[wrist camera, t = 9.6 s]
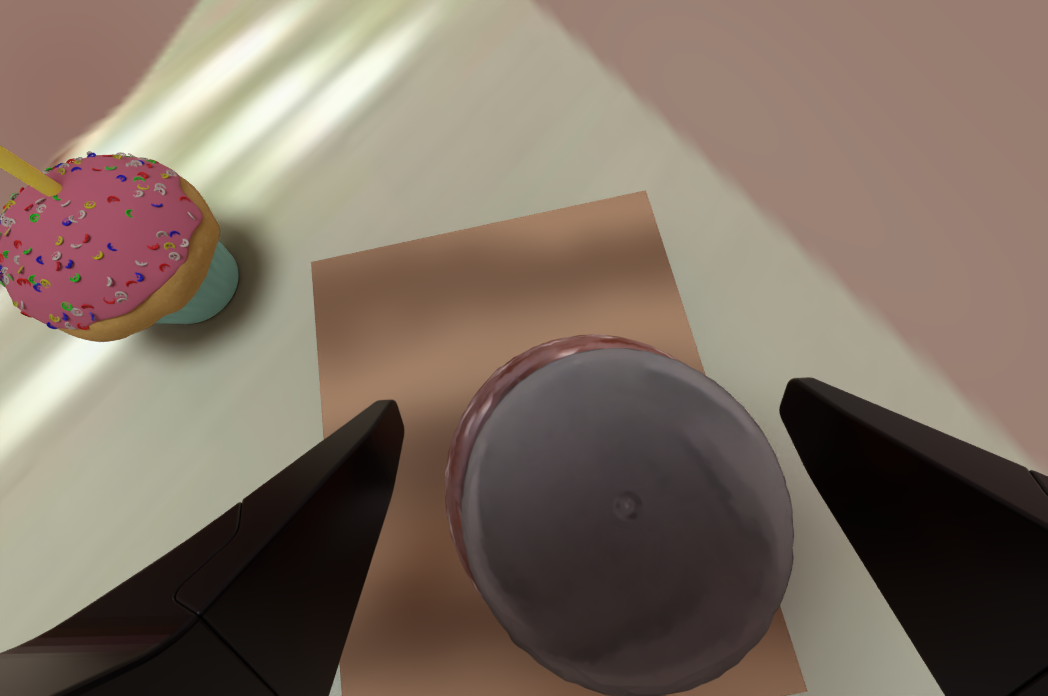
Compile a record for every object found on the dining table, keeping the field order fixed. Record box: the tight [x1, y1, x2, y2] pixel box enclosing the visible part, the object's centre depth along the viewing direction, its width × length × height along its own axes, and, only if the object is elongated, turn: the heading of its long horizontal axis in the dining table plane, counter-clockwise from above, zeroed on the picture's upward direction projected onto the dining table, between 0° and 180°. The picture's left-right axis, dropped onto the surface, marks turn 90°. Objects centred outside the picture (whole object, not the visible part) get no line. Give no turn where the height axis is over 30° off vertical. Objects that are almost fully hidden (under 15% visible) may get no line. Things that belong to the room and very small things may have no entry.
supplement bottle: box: [445, 334, 794, 696], centre depth 10 cm, size 6×6×11 cm
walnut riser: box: [311, 191, 807, 696], centre depth 17 cm, size 20×16×3 cm
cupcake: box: [0, 146, 239, 342], centre depth 16 cm, size 9×8×12 cm
